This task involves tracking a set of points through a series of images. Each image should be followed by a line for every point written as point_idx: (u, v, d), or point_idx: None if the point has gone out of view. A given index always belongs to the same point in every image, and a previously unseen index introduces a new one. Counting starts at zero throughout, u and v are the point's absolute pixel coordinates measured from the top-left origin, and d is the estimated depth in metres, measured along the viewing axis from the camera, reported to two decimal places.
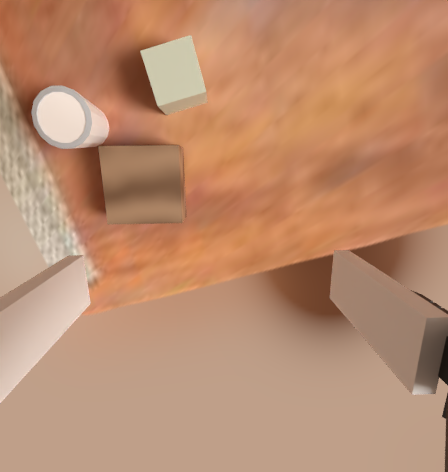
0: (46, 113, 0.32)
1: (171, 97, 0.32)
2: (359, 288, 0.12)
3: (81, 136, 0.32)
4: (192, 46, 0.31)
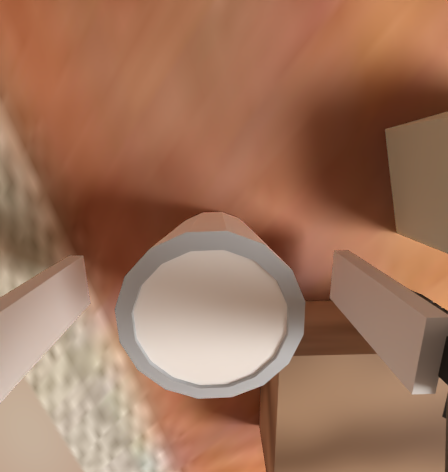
0: (163, 311, 0.10)
1: None
2: (359, 288, 0.12)
3: (265, 370, 0.10)
4: None
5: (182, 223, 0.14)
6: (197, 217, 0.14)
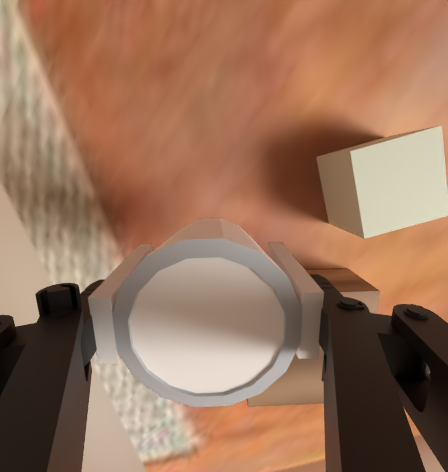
0: (160, 318, 0.10)
1: (390, 225, 0.19)
2: None
3: (262, 378, 0.10)
4: (440, 143, 0.18)
5: (180, 230, 0.14)
6: (195, 224, 0.14)
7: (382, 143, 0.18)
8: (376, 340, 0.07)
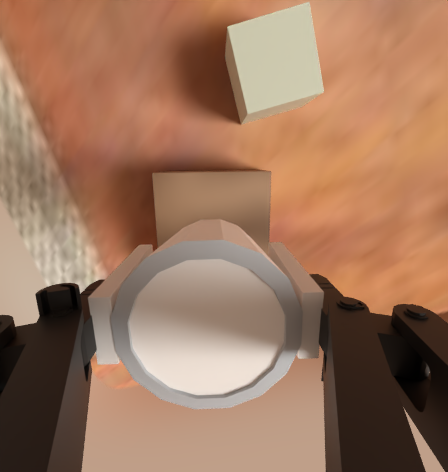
0: (159, 320, 0.10)
1: (270, 101, 0.21)
2: None
3: (262, 380, 0.10)
4: (309, 20, 0.20)
5: (180, 230, 0.14)
6: (195, 225, 0.14)
7: (256, 19, 0.20)
8: (376, 340, 0.07)
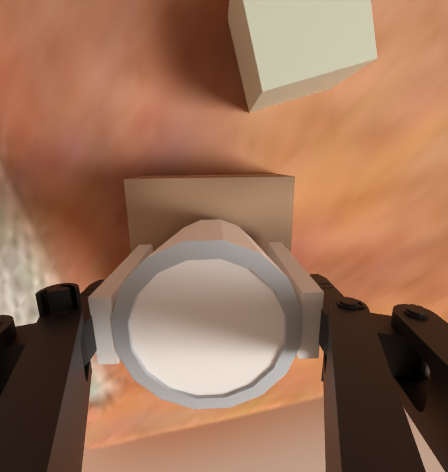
0: (159, 320, 0.10)
1: (297, 72, 0.14)
2: None
3: (262, 380, 0.10)
4: None
5: (180, 231, 0.14)
6: (195, 225, 0.14)
7: None
8: (376, 340, 0.07)
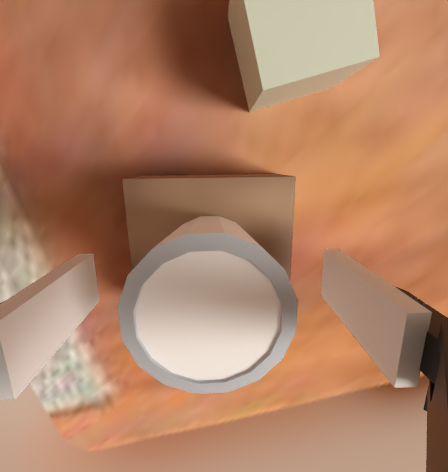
0: (163, 308, 0.10)
1: (298, 70, 0.14)
2: (347, 285, 0.12)
3: (260, 365, 0.11)
4: None
5: (180, 226, 0.15)
6: (195, 220, 0.14)
7: None
8: None
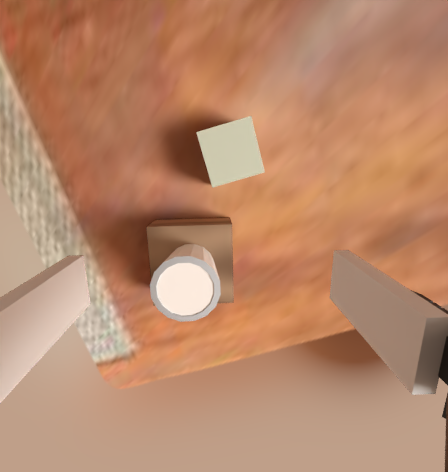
0: (167, 285, 0.26)
1: (228, 178, 0.30)
2: (359, 288, 0.12)
3: (206, 308, 0.27)
4: (252, 127, 0.29)
5: (175, 250, 0.31)
6: (181, 248, 0.30)
7: (215, 127, 0.29)
8: None
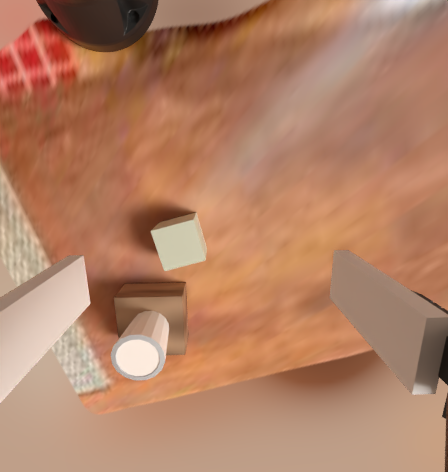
0: (124, 355, 0.35)
1: (176, 265, 0.38)
2: (359, 288, 0.12)
3: (154, 371, 0.36)
4: (194, 227, 0.37)
5: (135, 318, 0.39)
6: (140, 318, 0.39)
7: (165, 227, 0.37)
8: None
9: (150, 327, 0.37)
